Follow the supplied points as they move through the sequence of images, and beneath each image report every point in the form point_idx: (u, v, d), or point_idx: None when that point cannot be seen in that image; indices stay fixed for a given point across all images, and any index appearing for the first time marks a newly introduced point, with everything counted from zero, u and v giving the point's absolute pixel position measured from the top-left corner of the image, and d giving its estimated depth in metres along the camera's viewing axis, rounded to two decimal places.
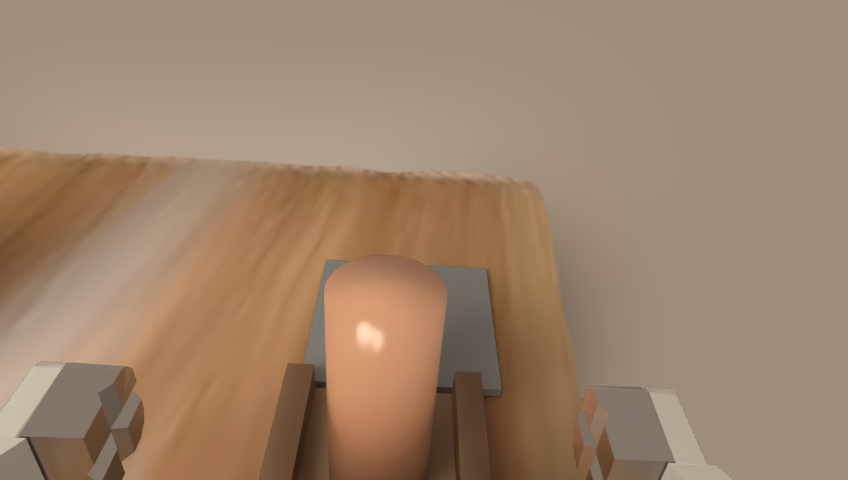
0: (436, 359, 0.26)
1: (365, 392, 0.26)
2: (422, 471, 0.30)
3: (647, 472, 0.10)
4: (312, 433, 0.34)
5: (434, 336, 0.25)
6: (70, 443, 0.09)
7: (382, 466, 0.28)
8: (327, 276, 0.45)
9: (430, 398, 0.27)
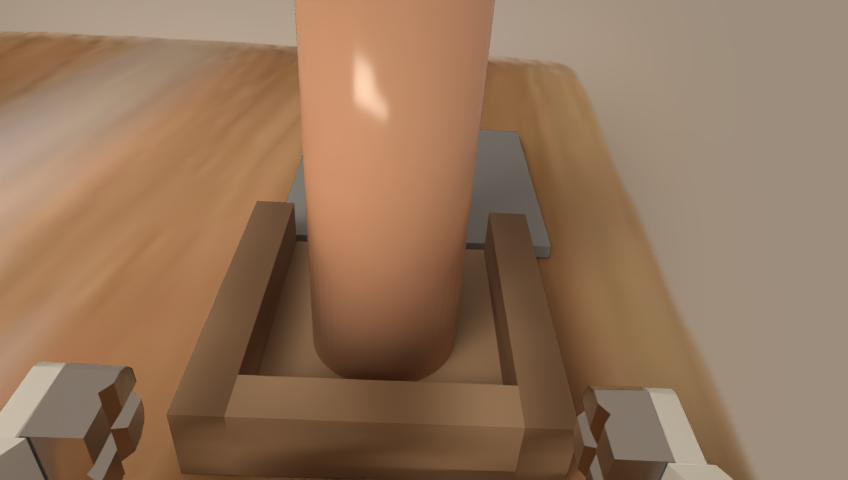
0: (478, 98, 0.16)
1: (363, 138, 0.15)
2: (450, 317, 0.20)
3: (647, 472, 0.10)
4: (291, 289, 0.24)
5: (477, 37, 0.15)
6: (69, 443, 0.09)
7: (391, 290, 0.18)
8: None
9: (466, 176, 0.17)
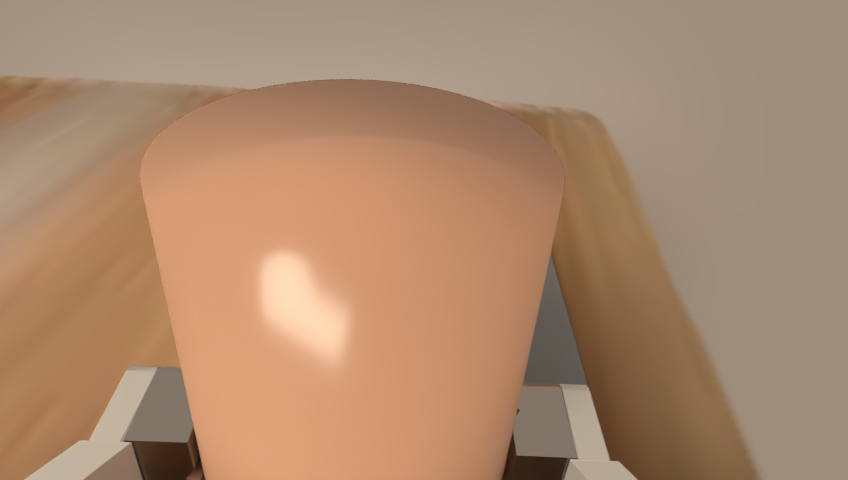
0: (521, 377, 0.08)
1: None
2: None
3: (551, 468, 0.10)
4: None
5: (526, 299, 0.07)
6: (173, 447, 0.10)
7: None
8: None
9: None
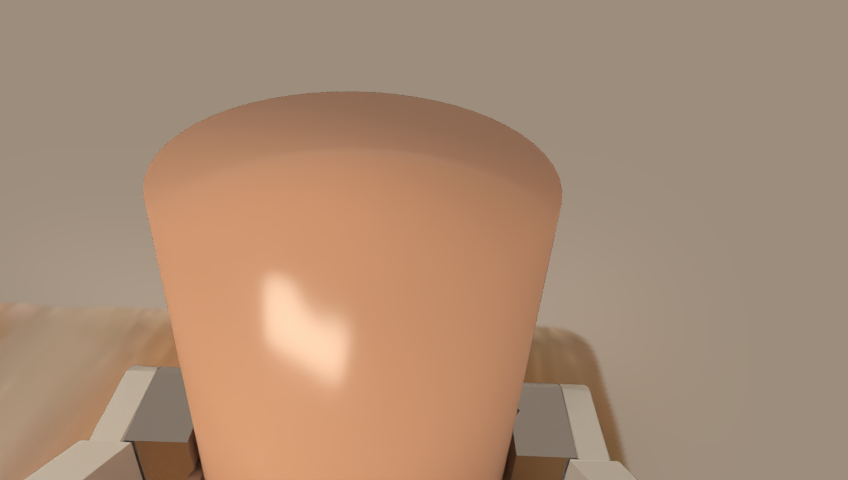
0: (518, 388, 0.08)
1: None
2: None
3: (551, 468, 0.10)
4: None
5: (524, 312, 0.07)
6: (173, 447, 0.10)
7: None
8: None
9: None
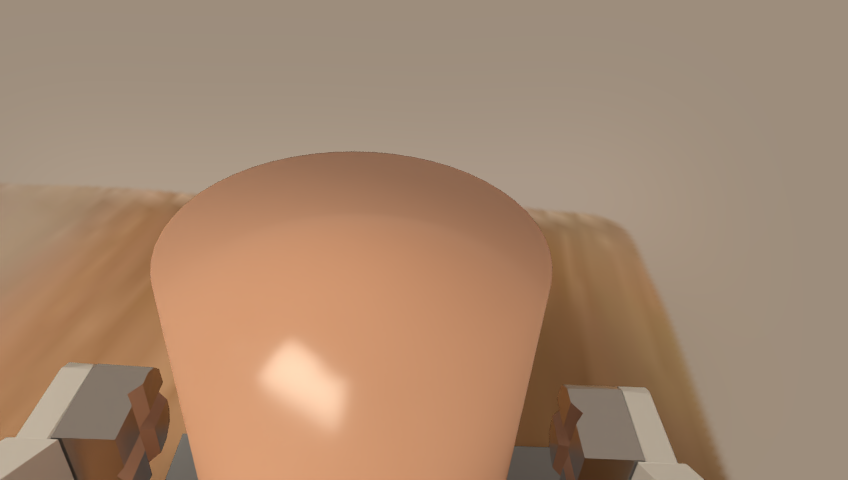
0: (511, 448, 0.09)
1: None
2: None
3: (618, 471, 0.10)
4: None
5: (515, 388, 0.08)
6: (101, 444, 0.09)
7: None
8: None
9: None
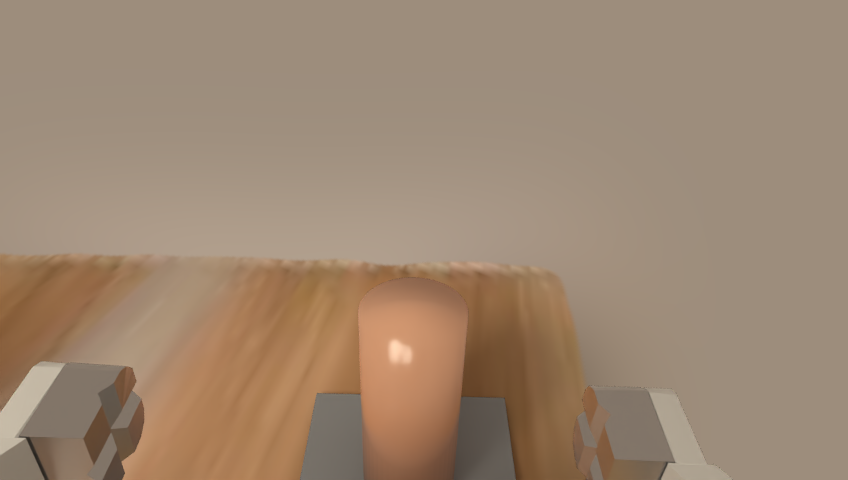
0: (460, 371, 0.29)
1: (397, 401, 0.28)
2: (449, 475, 0.33)
3: (647, 472, 0.10)
4: None
5: (457, 350, 0.28)
6: (69, 443, 0.09)
7: (413, 469, 0.31)
8: (317, 418, 0.39)
9: (455, 406, 0.30)
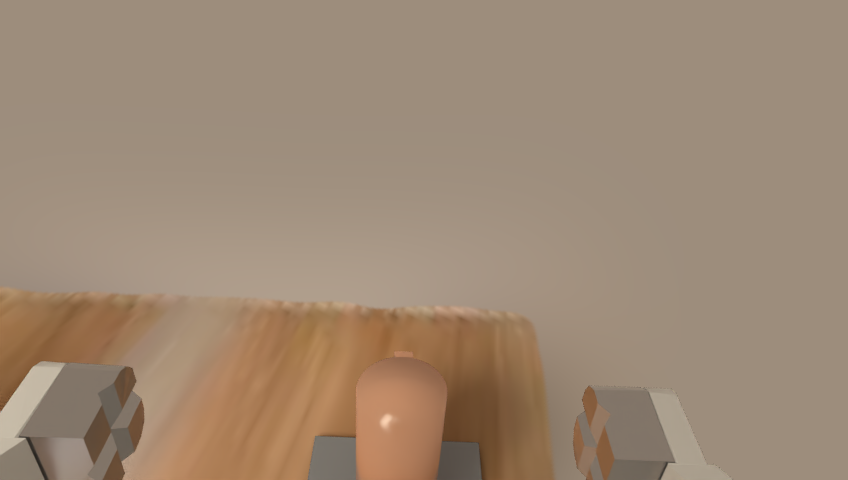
0: (439, 439, 0.35)
1: (386, 465, 0.34)
2: None
3: (647, 472, 0.10)
4: None
5: (437, 425, 0.34)
6: (70, 443, 0.09)
7: None
8: (316, 459, 0.44)
9: (435, 466, 0.36)
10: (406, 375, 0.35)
